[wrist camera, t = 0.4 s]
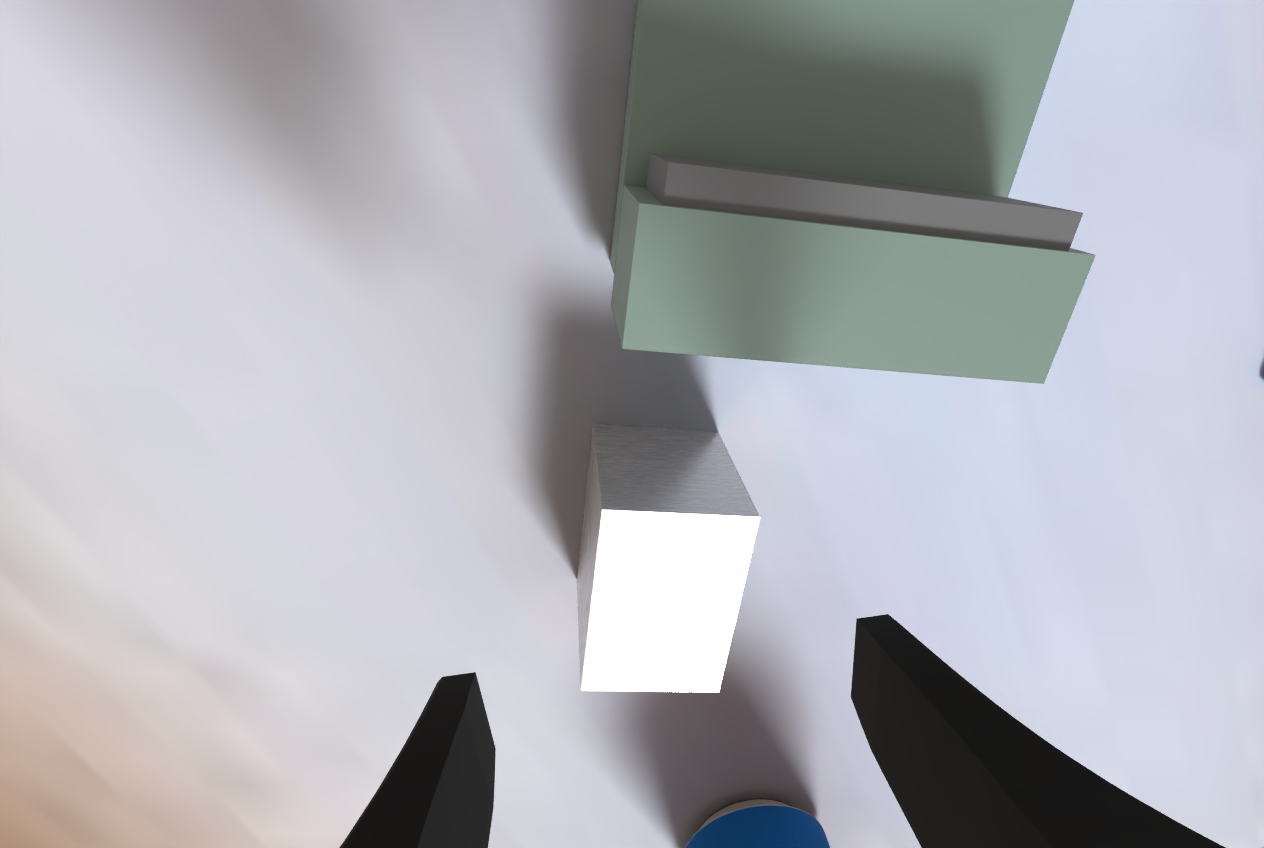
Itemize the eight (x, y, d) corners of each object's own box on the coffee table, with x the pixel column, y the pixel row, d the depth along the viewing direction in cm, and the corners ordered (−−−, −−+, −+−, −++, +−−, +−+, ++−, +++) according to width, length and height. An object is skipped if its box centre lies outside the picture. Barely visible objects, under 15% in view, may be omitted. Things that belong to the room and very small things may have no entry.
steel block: (717, 430, 21) (760, 517, 17) (688, 581, 24) (718, 692, 19) (593, 422, 21) (602, 509, 16) (576, 577, 23) (581, 691, 19)
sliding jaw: (1010, 197, 17) (1110, 216, 14) (962, 337, 19) (1043, 383, 16) (627, 149, 16) (644, 159, 13) (610, 305, 17) (622, 349, 14)
